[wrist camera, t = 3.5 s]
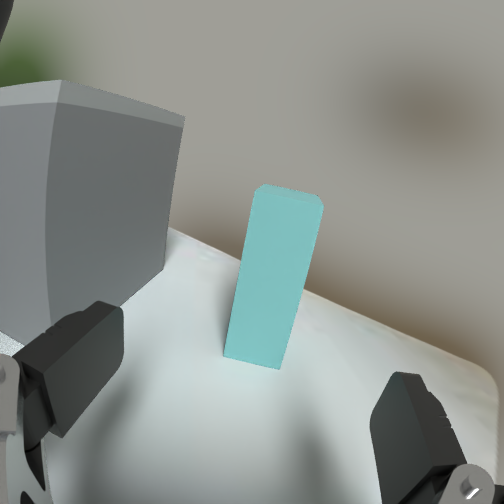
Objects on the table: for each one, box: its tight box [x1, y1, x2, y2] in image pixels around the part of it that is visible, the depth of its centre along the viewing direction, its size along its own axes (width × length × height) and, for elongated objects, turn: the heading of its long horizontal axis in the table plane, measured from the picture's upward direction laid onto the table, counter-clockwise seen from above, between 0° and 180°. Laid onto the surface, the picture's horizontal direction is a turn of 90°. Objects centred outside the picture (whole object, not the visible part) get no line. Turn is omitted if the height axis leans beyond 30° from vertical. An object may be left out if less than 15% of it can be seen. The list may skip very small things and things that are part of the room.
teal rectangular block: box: [223, 184, 324, 370], centre depth 20 cm, size 4×5×10 cm
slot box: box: [0, 80, 185, 346], centre depth 20 cm, size 12×16×14 cm
